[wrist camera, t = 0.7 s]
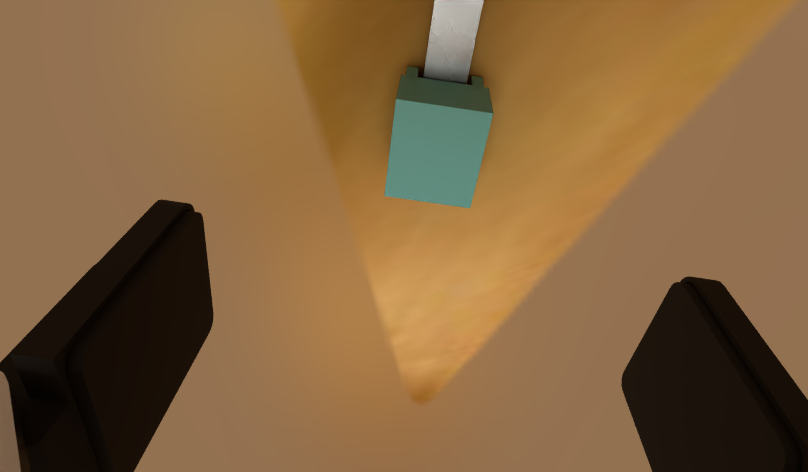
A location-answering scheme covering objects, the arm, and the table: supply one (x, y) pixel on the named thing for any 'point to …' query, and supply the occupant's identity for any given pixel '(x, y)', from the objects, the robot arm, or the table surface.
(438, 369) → the table surface
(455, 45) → the rail
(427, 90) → the carriage
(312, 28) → the table surface
